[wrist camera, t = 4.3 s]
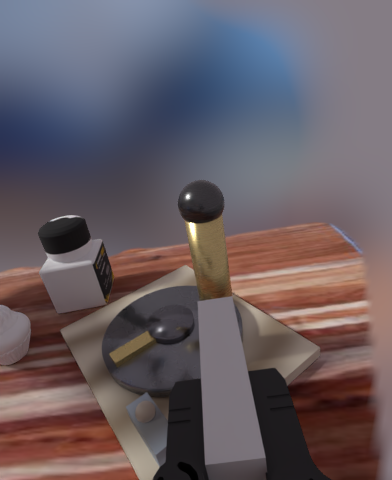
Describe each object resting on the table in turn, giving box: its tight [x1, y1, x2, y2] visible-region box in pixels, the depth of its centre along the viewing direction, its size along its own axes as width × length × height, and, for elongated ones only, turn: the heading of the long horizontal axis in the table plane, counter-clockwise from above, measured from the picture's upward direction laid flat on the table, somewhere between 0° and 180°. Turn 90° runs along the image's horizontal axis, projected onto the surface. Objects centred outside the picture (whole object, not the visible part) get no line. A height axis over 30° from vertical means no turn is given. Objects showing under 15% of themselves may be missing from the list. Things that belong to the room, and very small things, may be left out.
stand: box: [60, 265, 320, 480], centre depth 35 cm, size 23×19×4 cm
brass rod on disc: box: [102, 180, 243, 397], centre depth 31 cm, size 15×15×18 cm
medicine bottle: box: [38, 215, 114, 314], centre depth 45 cm, size 7×7×12 cm
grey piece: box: [0, 305, 31, 365], centre depth 37 cm, size 6×6×7 cm
